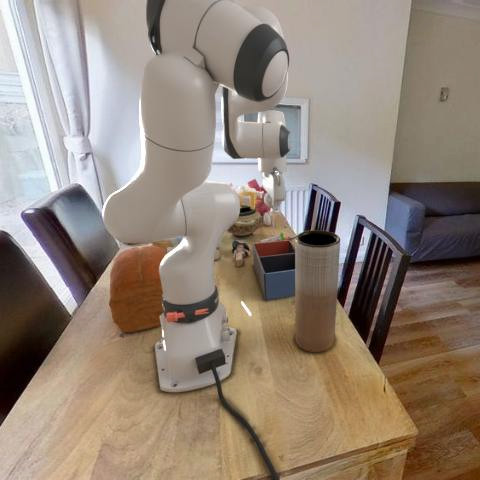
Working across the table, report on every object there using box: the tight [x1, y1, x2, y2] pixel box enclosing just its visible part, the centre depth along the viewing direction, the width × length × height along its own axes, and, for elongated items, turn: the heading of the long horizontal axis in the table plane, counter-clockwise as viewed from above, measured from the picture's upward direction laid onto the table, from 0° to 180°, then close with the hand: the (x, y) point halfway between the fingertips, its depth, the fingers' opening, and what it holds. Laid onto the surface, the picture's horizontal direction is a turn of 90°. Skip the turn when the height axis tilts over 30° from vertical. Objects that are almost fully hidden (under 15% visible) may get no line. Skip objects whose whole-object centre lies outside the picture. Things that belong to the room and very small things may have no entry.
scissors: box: [284, 233, 299, 240], centre depth 139 cm, size 8×21×2 cm, turn 154°
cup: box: [257, 232, 285, 243], centre depth 126 cm, size 8×8×15 cm
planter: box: [294, 229, 341, 353], centre depth 73 cm, size 10×10×28 cm
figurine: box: [151, 237, 183, 252], centre depth 132 cm, size 13×25×6 cm, turn 154°
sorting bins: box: [251, 239, 295, 301], centre depth 105 cm, size 24×14×9 cm, turn 19°
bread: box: [108, 245, 168, 333], centre depth 88 cm, size 16×27×16 cm, turn 29°
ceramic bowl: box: [226, 207, 263, 240], centre depth 140 cm, size 24×18×15 cm
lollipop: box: [264, 192, 283, 234], centre depth 103 cm, size 6×6×15 cm
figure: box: [234, 183, 264, 209], centre depth 136 cm, size 17×18×9 cm
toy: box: [247, 178, 272, 227], centre depth 159 cm, size 28×30×15 cm
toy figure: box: [231, 240, 252, 267], centre depth 120 cm, size 7×6×15 cm
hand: (273, 207), depth 102 cm, fingers closed on lollipop, 5 cm apart
